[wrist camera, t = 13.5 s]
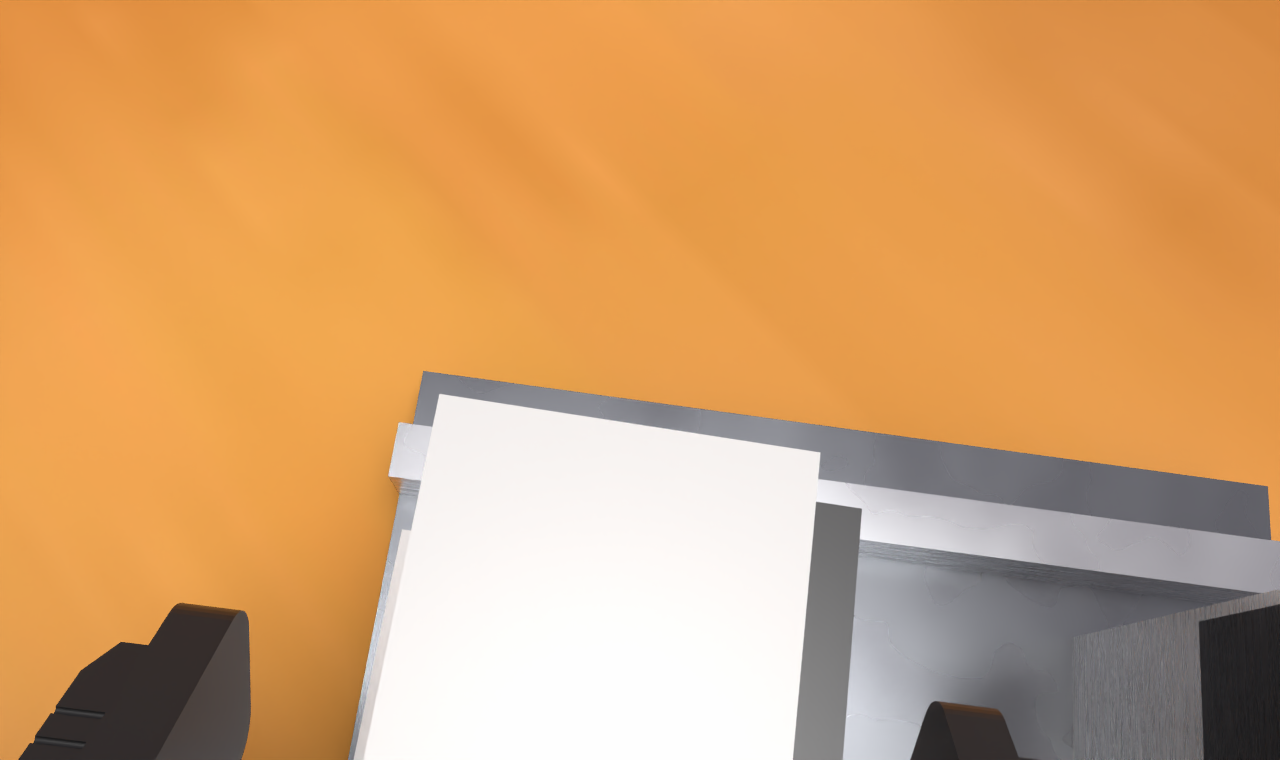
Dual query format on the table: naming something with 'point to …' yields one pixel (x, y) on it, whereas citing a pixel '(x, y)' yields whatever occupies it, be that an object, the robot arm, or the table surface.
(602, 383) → the table surface
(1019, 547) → the rail
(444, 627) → the white stepped block
